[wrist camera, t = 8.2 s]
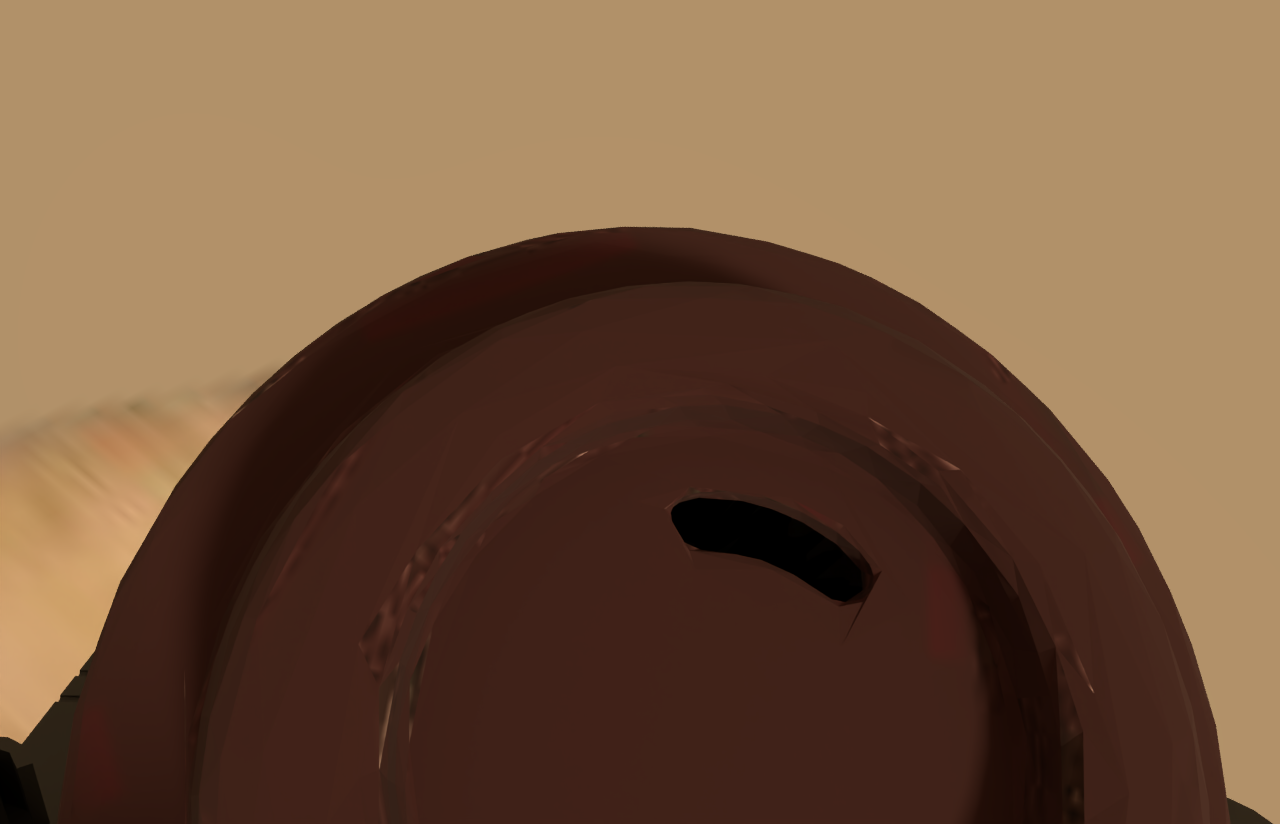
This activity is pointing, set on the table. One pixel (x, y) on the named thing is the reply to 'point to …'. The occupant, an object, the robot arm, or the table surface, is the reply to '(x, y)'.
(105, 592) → the table surface
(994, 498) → the coffee cup
